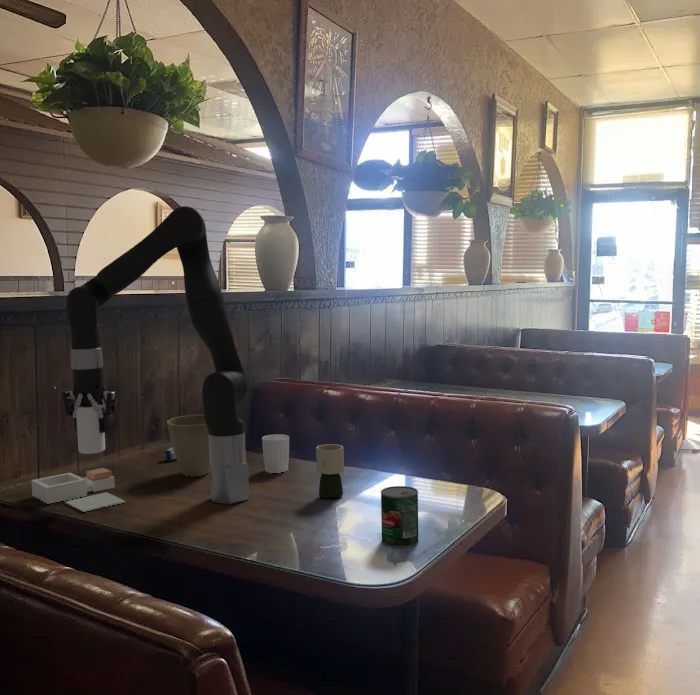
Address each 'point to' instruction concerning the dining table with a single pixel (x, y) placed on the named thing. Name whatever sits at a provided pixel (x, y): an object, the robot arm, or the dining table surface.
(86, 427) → the can
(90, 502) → the pad
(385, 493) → the canned tomato
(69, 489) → the white piece
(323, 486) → the character mug
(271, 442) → the white cup
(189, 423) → the plant pot
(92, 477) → the light brown square block
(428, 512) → the dining table surface
